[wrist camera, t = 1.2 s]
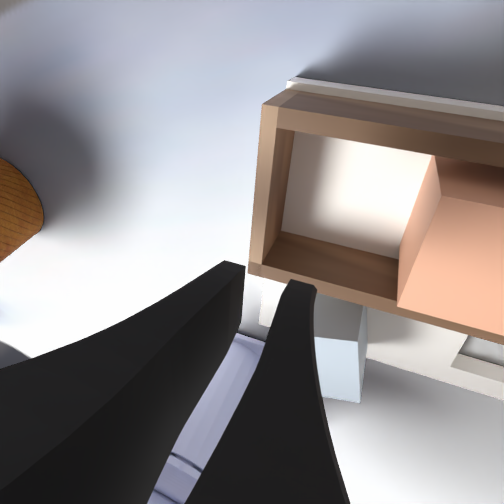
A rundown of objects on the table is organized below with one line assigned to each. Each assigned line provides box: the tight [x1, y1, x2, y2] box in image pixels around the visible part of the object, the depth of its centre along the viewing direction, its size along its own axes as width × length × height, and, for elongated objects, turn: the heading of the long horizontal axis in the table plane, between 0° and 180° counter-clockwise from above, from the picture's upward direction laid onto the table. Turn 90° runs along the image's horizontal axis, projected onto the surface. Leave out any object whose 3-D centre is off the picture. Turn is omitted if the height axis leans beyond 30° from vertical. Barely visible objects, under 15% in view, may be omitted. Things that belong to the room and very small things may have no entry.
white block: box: [314, 293, 368, 403], centre depth 19 cm, size 4×4×4 cm
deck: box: [259, 77, 504, 401], centre depth 17 cm, size 14×20×1 cm
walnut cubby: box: [248, 89, 504, 345], centre depth 15 cm, size 7×11×3 cm
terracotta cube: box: [397, 155, 504, 336], centre depth 14 cm, size 4×4×4 cm
